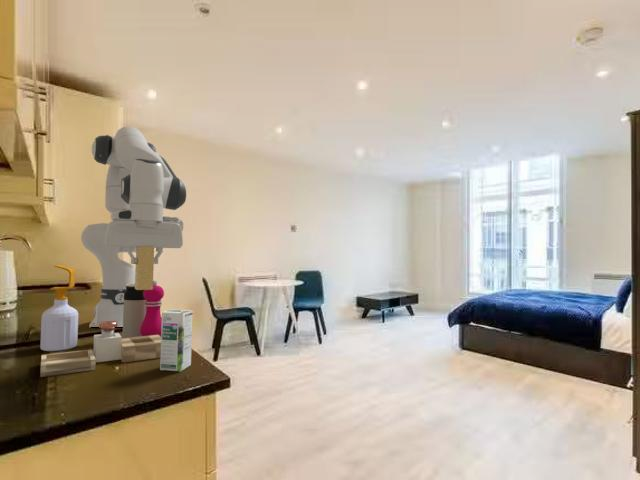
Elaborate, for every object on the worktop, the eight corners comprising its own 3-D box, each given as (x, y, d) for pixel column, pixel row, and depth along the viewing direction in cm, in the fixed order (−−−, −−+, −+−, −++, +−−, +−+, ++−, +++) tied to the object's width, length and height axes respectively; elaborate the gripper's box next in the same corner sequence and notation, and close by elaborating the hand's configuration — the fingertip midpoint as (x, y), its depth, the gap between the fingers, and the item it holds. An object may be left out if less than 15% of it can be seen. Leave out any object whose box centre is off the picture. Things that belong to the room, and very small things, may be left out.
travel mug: (150, 340, 126) (152, 285, 126) (123, 342, 121) (125, 285, 122) (147, 335, 132) (148, 283, 133) (121, 337, 128) (123, 283, 129)
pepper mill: (155, 347, 116) (157, 281, 117) (134, 346, 118) (136, 280, 118) (169, 342, 123) (171, 279, 124) (149, 340, 125) (151, 279, 125)
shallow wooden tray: (41, 364, 97) (41, 355, 97) (91, 358, 104) (91, 349, 104) (40, 377, 88) (40, 366, 88) (95, 369, 95) (95, 359, 95)
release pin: (96, 355, 105) (98, 322, 105) (114, 353, 108) (116, 320, 108) (98, 359, 101) (99, 324, 102) (117, 357, 104) (118, 323, 104)
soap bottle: (46, 344, 117) (50, 264, 118) (81, 343, 120) (83, 264, 120) (34, 352, 108) (38, 265, 109) (72, 350, 111) (75, 265, 112)
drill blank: (134, 288, 110) (136, 246, 110) (149, 288, 112) (151, 246, 112) (137, 290, 106) (138, 246, 107) (152, 289, 109) (154, 247, 109)
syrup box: (158, 370, 95) (160, 311, 95) (171, 363, 101) (173, 308, 101) (180, 372, 94) (182, 312, 95) (191, 365, 100) (193, 309, 100)
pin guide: (93, 357, 105) (94, 335, 105) (117, 354, 109) (118, 332, 109) (95, 362, 100) (96, 339, 100) (120, 359, 104) (121, 336, 104)
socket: (117, 352, 110) (117, 338, 110) (157, 347, 116) (158, 334, 116) (122, 362, 101) (123, 347, 101) (166, 356, 107) (167, 342, 107)
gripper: (180, 218, 118) (179, 263, 118) (104, 213, 106) (102, 263, 106) (186, 217, 113) (185, 264, 113) (107, 212, 101) (105, 264, 101)
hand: (144, 263), depth 109 cm, fingers closed on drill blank, 4 cm apart
